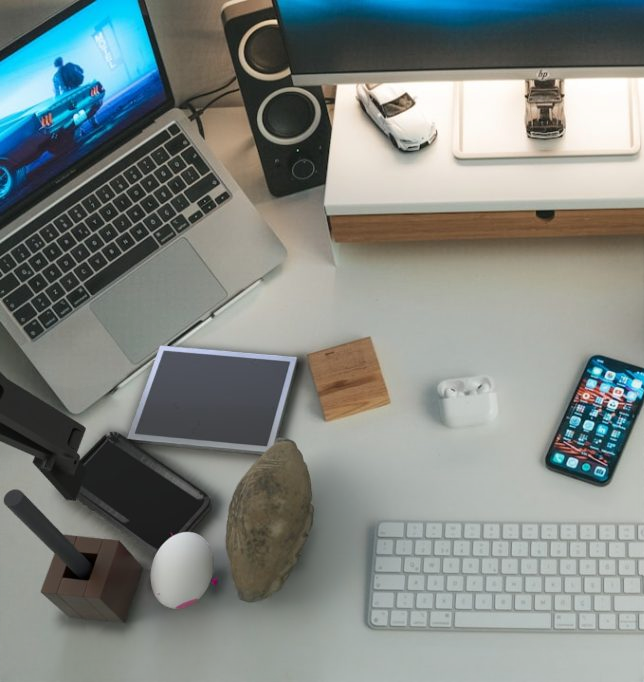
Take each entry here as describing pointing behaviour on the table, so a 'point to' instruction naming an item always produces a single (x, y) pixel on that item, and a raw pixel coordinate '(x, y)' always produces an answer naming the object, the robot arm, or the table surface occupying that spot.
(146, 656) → the table surface
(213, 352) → the tablet
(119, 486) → the phone
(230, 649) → the table surface
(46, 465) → the robot arm
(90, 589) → the pen stand
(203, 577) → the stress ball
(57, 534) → the stylus
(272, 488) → the stone
